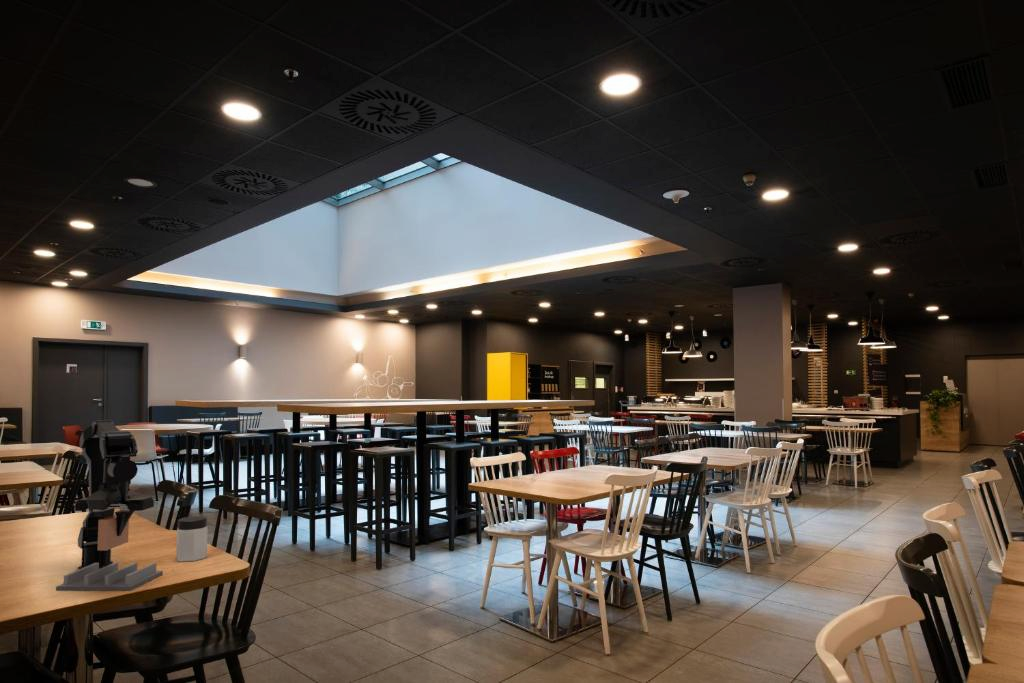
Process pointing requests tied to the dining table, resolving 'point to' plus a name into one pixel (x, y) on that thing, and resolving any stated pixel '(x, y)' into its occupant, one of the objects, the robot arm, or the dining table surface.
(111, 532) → the brown flat rectangular slab
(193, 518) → the jar
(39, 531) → the dining table surface
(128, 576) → the rack
